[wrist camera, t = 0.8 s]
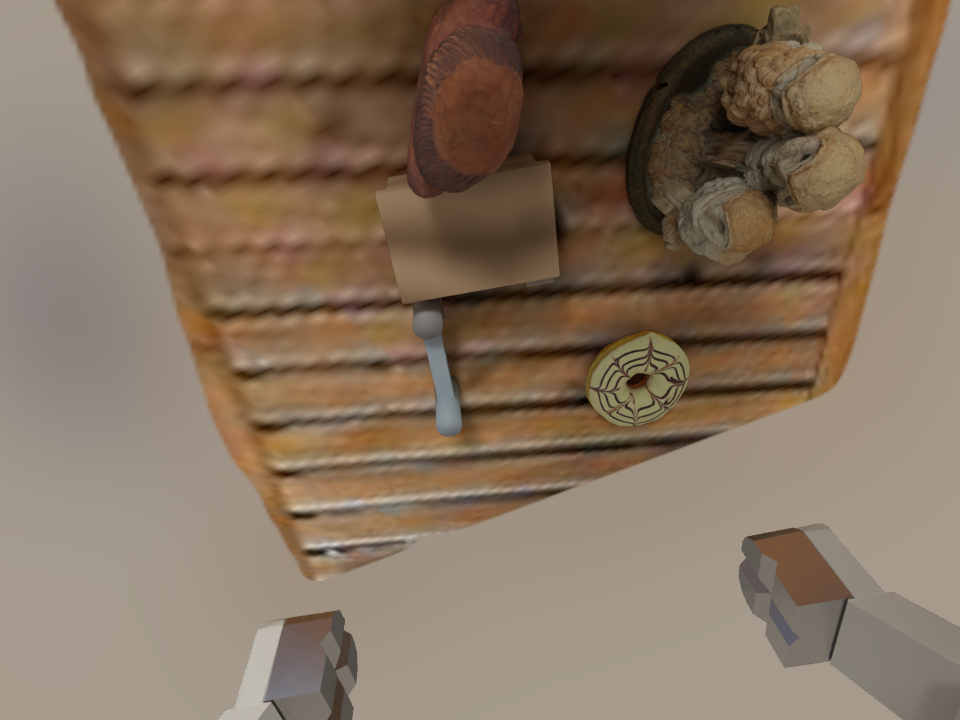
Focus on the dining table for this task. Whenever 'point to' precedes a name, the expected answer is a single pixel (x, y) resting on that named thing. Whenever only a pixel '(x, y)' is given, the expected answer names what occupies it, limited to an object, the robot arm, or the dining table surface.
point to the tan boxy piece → (473, 233)
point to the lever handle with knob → (438, 365)
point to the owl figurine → (744, 137)
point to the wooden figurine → (466, 96)
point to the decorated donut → (652, 393)
